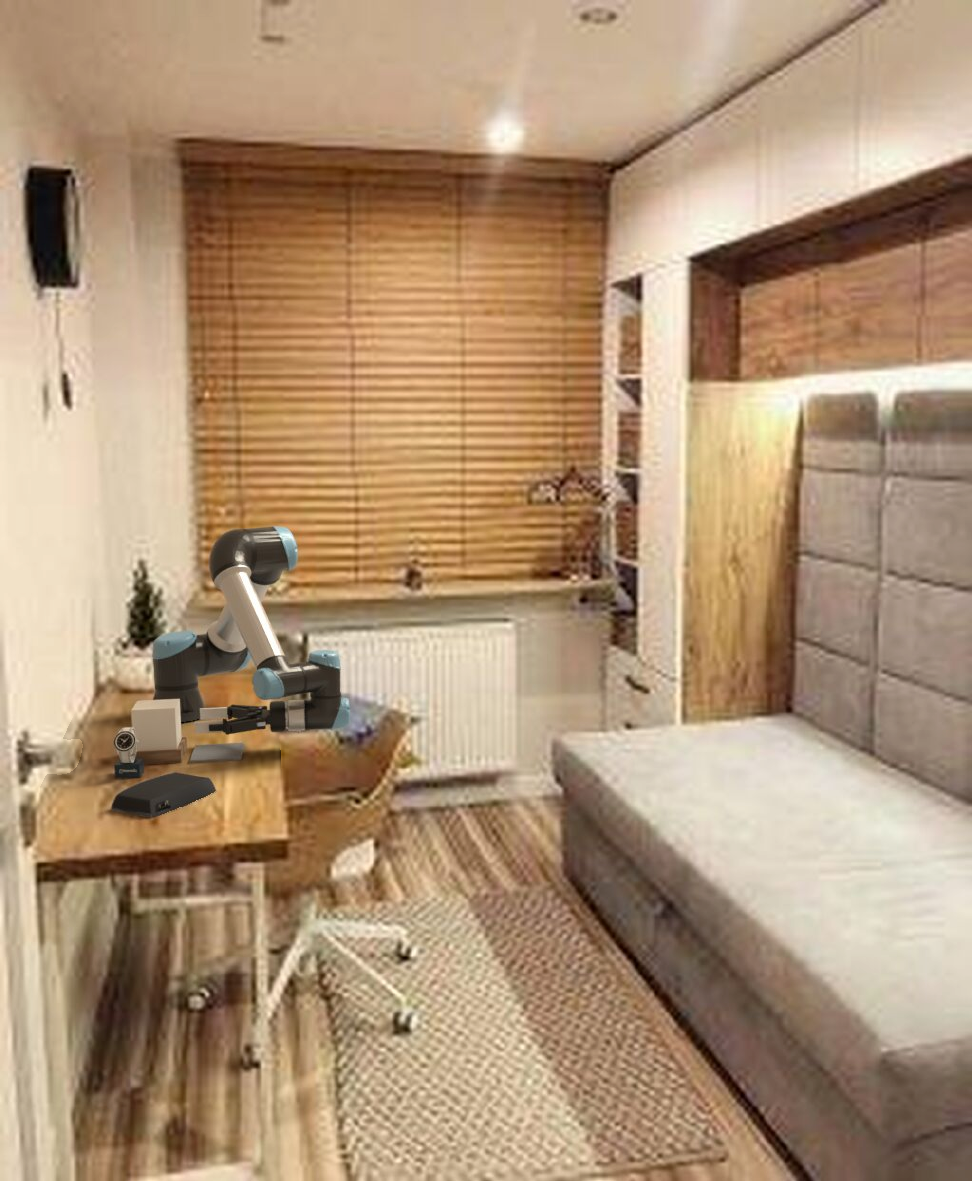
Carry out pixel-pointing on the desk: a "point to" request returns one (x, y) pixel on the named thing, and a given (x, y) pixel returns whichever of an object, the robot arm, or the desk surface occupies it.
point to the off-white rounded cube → (157, 724)
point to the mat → (217, 752)
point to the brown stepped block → (164, 754)
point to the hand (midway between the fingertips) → (197, 720)
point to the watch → (127, 754)
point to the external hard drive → (162, 794)
